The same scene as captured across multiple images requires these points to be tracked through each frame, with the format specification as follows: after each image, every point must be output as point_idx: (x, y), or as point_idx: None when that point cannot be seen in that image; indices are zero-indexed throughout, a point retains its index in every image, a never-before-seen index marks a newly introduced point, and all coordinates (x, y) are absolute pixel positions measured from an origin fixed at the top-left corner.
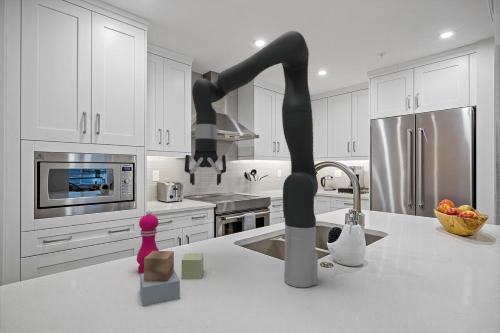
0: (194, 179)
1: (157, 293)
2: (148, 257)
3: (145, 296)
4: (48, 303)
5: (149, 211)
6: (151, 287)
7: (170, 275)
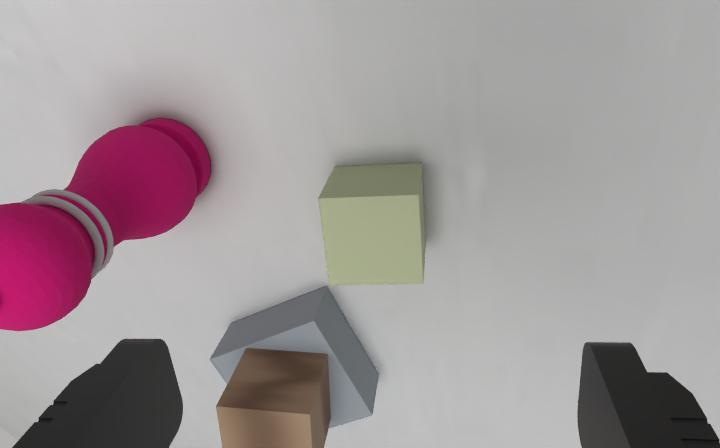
0: (121, 421)
1: None
2: None
3: None
4: (28, 375)
5: None
6: None
7: (328, 391)
